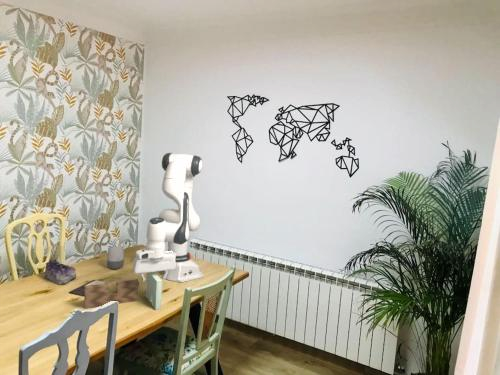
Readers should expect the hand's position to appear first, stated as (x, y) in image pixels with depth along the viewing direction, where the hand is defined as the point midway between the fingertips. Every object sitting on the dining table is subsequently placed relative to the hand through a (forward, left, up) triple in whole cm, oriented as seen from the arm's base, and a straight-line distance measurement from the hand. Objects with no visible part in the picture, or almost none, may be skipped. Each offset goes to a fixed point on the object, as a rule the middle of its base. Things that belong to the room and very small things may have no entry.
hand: (154, 279), depth 181 cm
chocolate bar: (+25, -28, -12) cm, 40 cm away
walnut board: (+18, -6, -12) cm, 22 cm away
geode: (+38, -46, -12) cm, 61 cm away
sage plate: (0, 0, -12) cm, 12 cm away
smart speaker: (+7, -53, -12) cm, 55 cm away
